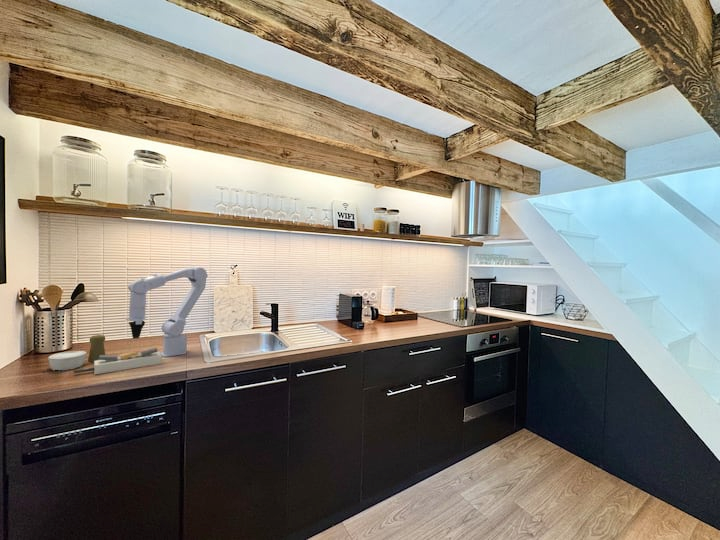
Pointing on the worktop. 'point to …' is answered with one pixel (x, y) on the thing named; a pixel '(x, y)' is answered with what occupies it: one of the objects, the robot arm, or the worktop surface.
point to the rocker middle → (129, 354)
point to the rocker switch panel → (124, 363)
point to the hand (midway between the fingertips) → (135, 338)
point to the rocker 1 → (108, 357)
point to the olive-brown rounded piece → (96, 347)
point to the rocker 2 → (149, 352)
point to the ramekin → (67, 360)
